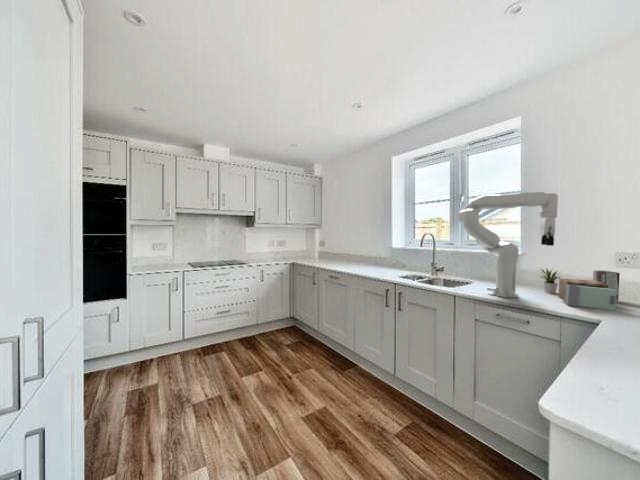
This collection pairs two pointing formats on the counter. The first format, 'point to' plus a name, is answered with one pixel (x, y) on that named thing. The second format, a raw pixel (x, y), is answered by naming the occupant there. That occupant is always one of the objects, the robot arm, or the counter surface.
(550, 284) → the house plant
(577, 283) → the cabinet
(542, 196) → the robot arm
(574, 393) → the counter surface
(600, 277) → the coffee box
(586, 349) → the counter surface
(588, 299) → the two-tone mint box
